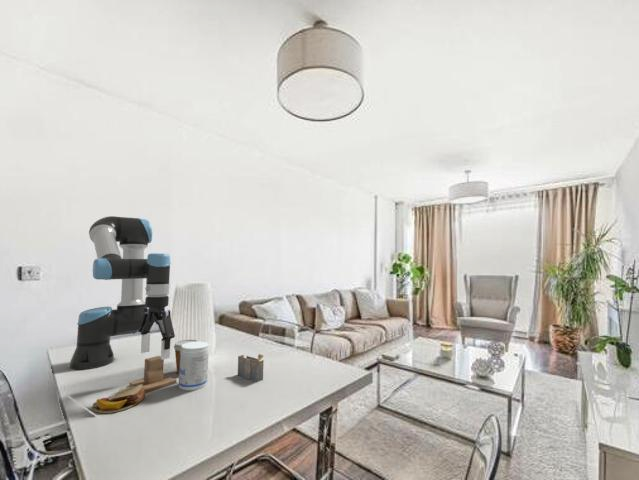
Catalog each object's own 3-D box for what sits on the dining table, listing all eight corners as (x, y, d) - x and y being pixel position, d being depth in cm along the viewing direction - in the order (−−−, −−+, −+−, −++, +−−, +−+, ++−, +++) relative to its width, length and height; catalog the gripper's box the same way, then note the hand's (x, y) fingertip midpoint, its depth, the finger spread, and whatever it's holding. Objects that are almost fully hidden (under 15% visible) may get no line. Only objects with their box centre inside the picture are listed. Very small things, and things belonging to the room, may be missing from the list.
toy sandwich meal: (106, 398, 101) (107, 383, 102) (150, 396, 103) (151, 381, 103) (82, 417, 89) (83, 400, 89) (132, 415, 90) (133, 398, 91)
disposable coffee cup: (189, 378, 118) (190, 346, 119) (167, 376, 120) (168, 344, 120) (203, 369, 127) (204, 340, 128) (182, 367, 129) (183, 338, 130)
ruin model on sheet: (263, 380, 118) (264, 354, 119) (258, 383, 116) (258, 356, 116) (243, 373, 124) (244, 349, 125) (237, 376, 122) (238, 351, 123)
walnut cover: (129, 385, 109) (130, 359, 110) (160, 376, 118) (161, 351, 119) (145, 393, 103) (146, 365, 104) (176, 383, 112) (177, 357, 113)
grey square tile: (127, 387, 109) (127, 385, 109) (160, 376, 119) (160, 375, 119) (144, 395, 102) (144, 394, 102) (178, 384, 112) (178, 383, 112)
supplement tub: (173, 386, 110) (175, 344, 111) (198, 379, 117) (200, 339, 118) (186, 394, 104) (188, 350, 105) (212, 386, 111) (214, 344, 112)
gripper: (129, 294, 117) (127, 352, 115) (166, 298, 103) (163, 364, 101) (150, 292, 123) (147, 347, 121) (186, 296, 109) (184, 358, 107)
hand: (154, 355), depth 111 cm, fingers open, 13 cm apart
